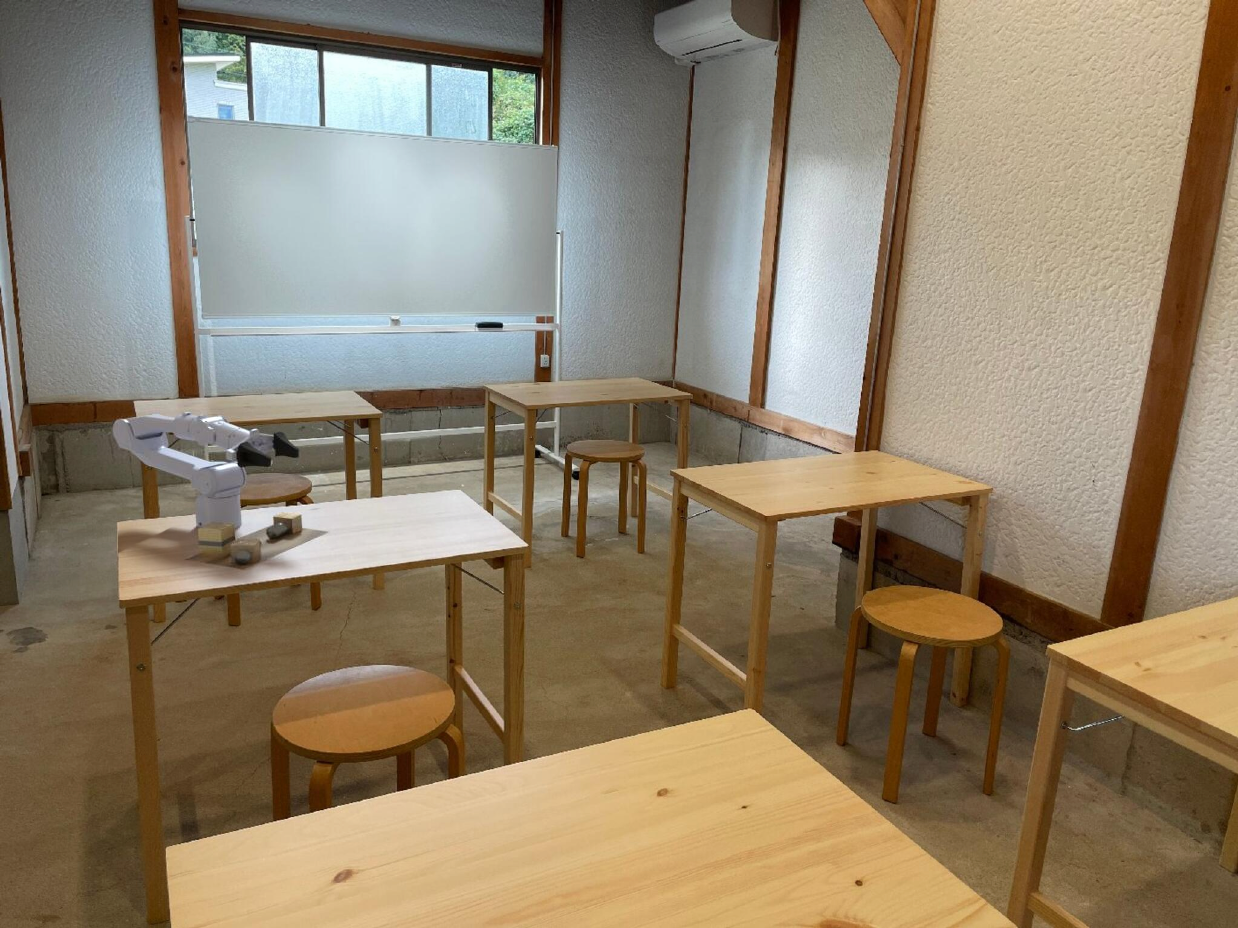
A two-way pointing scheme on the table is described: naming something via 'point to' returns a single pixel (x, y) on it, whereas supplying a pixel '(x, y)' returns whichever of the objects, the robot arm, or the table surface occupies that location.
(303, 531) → the board
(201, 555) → the tan wooden block
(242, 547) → the shaft
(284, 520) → the shaft
